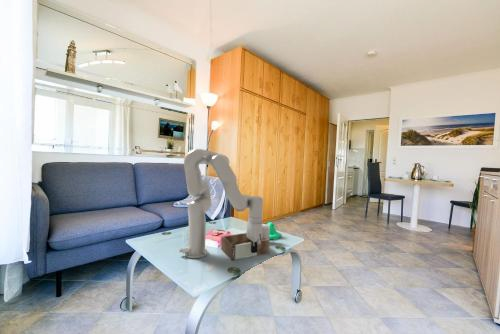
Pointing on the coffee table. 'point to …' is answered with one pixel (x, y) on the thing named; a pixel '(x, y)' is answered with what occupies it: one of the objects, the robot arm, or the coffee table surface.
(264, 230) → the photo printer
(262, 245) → the brown wooden open box
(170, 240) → the coffee table surface
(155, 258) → the coffee table surface
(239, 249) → the door
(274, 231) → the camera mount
